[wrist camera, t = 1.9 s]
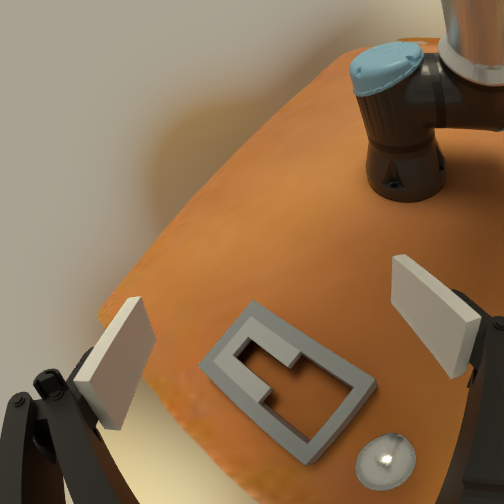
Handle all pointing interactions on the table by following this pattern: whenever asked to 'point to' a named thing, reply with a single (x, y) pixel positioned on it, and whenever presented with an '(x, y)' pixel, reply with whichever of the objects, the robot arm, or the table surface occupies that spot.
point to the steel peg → (385, 462)
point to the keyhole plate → (288, 352)
